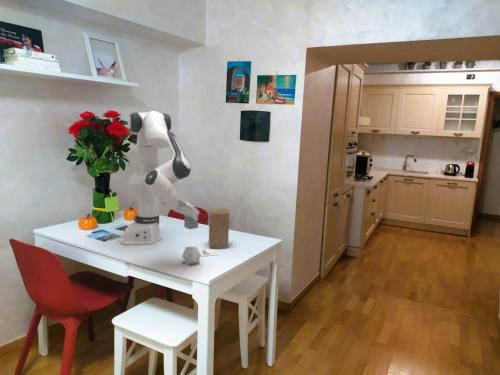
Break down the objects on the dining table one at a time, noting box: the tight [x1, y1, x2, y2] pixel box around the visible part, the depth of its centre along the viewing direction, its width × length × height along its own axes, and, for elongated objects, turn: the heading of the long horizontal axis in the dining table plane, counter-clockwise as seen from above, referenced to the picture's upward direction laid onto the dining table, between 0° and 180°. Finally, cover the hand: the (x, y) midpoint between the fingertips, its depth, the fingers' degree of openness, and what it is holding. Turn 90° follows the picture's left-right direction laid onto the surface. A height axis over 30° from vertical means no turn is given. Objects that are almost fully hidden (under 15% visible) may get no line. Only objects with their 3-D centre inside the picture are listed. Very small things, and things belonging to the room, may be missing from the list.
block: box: [208, 208, 230, 249], centre depth 201 cm, size 10×10×20 cm
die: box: [181, 245, 201, 265], centre depth 176 cm, size 8×9×10 cm
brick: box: [183, 215, 199, 230], centre depth 173 cm, size 5×5×8 cm
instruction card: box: [199, 248, 219, 258], centre depth 190 cm, size 12×8×1 cm, turn 112°
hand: (192, 217), depth 173 cm, fingers closed on brick, 5 cm apart
